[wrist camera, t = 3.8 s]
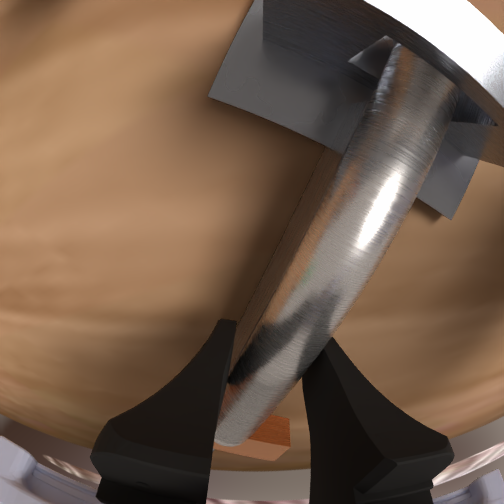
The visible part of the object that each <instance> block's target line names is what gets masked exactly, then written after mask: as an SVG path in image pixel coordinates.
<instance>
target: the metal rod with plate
mask: <svg viewBox="0 0 504 504" xmlns="http://www.w3.org/2000/svg"><path fill="white" fill-rule="evenodd" d="M393 46H394V48H393V49H392V51H391V53H390V56H389V58H388V60H387V63H386V65H385V68H384V70H383V72H382V74H381V77H380V79H379V81H378V84H377V86H376V88H375V90H374V93H373V95H372V97H371V99H370V102H369V104H368V106H367V108H366V111H365V113H364V115H363V117H362V119H361V121H360V124H359V126H358V128H357V130H356V132H355V134H354V137H353V139H352V141H351V143H350V145H349V147H348V149H347V151H346V154H345V156H344V158H343V160H342V162H341V164H340V166H339V168H338V170H337V172H336V174H335V176H334V179H333V181H332V183H331V185H330V187H329V189H328V191H327V193H326V195H325V197H324V199H323V201H322V203H321V205H320V207H319V209H318V211H317V213H316V215H315V217H314V219H313V221H312V223H311V225H310V227H309V229H308V231H307V233H306V235H305V236H304V238H303V240H302V242H301V244H300V246H299V248H298V250H297V252H296V254H295V256H294V258H293V260H292V262H291V263H290V265H289V267H288V269H287V271H286V273H285V275H284V277H283V279H282V280H281V282H280V284H279V286H278V288H277V290H276V292H275V293H274V295H273V297H272V299H271V301H270V303H269V304H268V306H267V308H266V310H265V312H264V314H263V315H262V317H261V319H260V321H259V323H258V324H257V326H256V328H255V330H254V332H253V333H252V335H251V337H250V339H249V341H248V342H247V344H246V346H245V348H244V349H243V351H242V353H241V355H240V356H239V358H238V360H237V362H236V363H235V365H234V367H233V369H232V370H231V372H230V374H229V376H228V381H227V385H226V389H225V394H224V398H223V402H222V406H221V410H220V414H219V418H218V422H217V427H216V432H215V438H214V446H213V449H216V450H220V451H225V452H229V453H233V454H238V455H243V456H248V457H253V458H258V459H264V460H270V461H275V460H276V459H277V458H278V457H280V456H281V455H282V454H283V453H284V452H286V451H287V450H288V449H289V448H290V447H291V445H290V428H289V419H288V418H283V417H279V416H274V415H271V413H272V412H273V411H274V410H275V409H276V408H277V406H278V405H279V404H280V403H281V402H282V400H283V399H284V398H285V397H286V396H287V394H288V393H289V392H290V391H291V390H292V388H293V387H294V386H295V385H296V383H297V382H298V381H299V380H300V378H301V377H302V376H303V374H304V373H305V372H306V371H307V369H308V368H309V367H310V365H311V364H312V363H313V361H314V360H315V359H316V357H317V356H318V355H319V353H320V352H321V351H322V349H323V348H324V347H325V345H326V344H327V342H328V341H329V340H330V338H331V337H332V335H333V334H334V333H335V331H336V330H337V328H338V327H339V326H340V324H341V323H342V321H343V320H344V318H345V317H346V315H347V314H348V312H349V311H350V309H351V308H352V306H353V305H354V303H355V302H356V300H357V299H358V297H359V296H360V294H361V293H362V291H363V289H364V288H365V286H366V285H367V283H368V282H369V280H370V278H371V277H372V275H373V274H374V272H375V270H376V269H377V267H378V265H379V264H380V262H381V260H382V259H383V257H384V255H385V253H386V252H387V250H388V248H389V247H390V245H391V243H392V241H393V240H394V238H395V236H396V234H397V232H398V231H399V229H400V227H401V225H402V223H403V221H404V220H405V218H406V216H407V214H408V212H409V210H410V208H411V206H412V204H413V202H414V200H415V199H416V197H417V195H418V193H419V191H420V188H421V186H422V184H423V182H424V180H425V178H426V176H427V174H428V172H429V170H430V168H431V165H432V163H433V161H434V159H435V157H436V154H437V152H438V150H439V147H440V145H441V143H442V140H443V138H444V136H445V133H446V131H447V128H448V126H449V123H450V121H451V118H452V116H453V113H454V111H455V108H456V105H457V102H458V100H459V97H460V94H461V91H462V90H461V89H460V88H458V87H457V86H456V85H455V84H454V83H453V82H451V81H450V80H449V79H448V78H446V77H445V76H444V75H443V74H441V73H440V72H439V71H438V70H436V69H435V68H434V67H432V66H431V65H430V64H428V63H427V62H426V61H424V60H423V59H421V58H420V57H419V56H417V55H416V54H414V53H413V52H411V51H410V50H408V49H407V48H405V47H404V46H402V45H401V44H399V43H398V42H396V41H395V40H393Z"/></svg>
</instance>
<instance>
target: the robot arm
mask: <svg viewBox="0 0 504 504" xmlns="http://www.w3.org/2000/svg"><path fill="white" fill-rule="evenodd" d="M236 322H237V321H232V320H225V319H220V320H218V322H217V324H216V326H215V328H214V330H213V332H212V334H211V335H210V337H209V338H208V340H207V341H206V343H205V344H204V345H203V347H202V348H201V349H200V351H199V352H198V353H197V354H196V356H195V357H194V358H193V359H192V360H191V361H190V362H189V364H188V365H187V366H186V367H185V368H184V369H183V370H182V371H181V372H180V373H179V374H178V375H177V376H176V377H175V378H174V379H173V380H171V381H170V382H169V383H168V384H167V385H165V386H164V387H163V388H162V389H160V390H159V391H158V392H157V393H155V394H154V395H152V396H151V397H149V398H148V399H146V400H145V401H143V402H142V403H140V404H139V405H137V406H135V407H134V408H132V409H130V410H128V411H126V412H124V413H122V414H120V415H118V416H116V417H114V418H112V419H110V420H109V421H108V422H107V424H106V425H105V426H104V428H103V429H102V431H101V433H100V434H99V436H98V438H97V440H96V442H95V445H94V447H93V450H92V453H91V456H90V459H91V461H92V463H93V465H94V466H95V468H96V469H97V471H98V472H99V474H100V475H101V477H102V479H101V481H100V484H99V487H98V489H95V488H93V487H90V486H87V485H85V484H82V483H80V482H78V481H75V480H73V479H71V478H69V477H66V476H64V475H62V474H60V473H58V472H56V471H53V470H51V469H49V468H47V467H45V466H43V465H41V464H40V463H38V462H37V461H36V459H35V458H34V457H33V456H32V455H31V454H30V453H29V452H28V451H26V450H25V449H23V448H22V447H20V446H18V445H17V444H15V443H13V442H12V441H10V440H8V439H6V438H5V437H4V436H0V503H1V504H206V499H207V491H208V483H209V476H210V468H211V461H212V453H213V446H214V438H215V432H216V427H217V422H218V418H219V414H220V410H221V406H222V402H223V398H224V394H225V389H226V385H227V381H228V376H229V369H230V363H231V357H232V351H233V344H234V338H235V332H236ZM302 384H303V394H304V400H305V406H306V413H307V419H308V425H309V432H310V443H311V482H310V500H309V504H504V481H503V478H502V476H501V473H500V471H499V469H495V470H493V471H491V472H489V473H487V474H485V475H482V476H481V477H479V478H477V479H476V480H475V481H473V482H472V483H471V484H470V485H469V486H467V487H465V488H462V489H459V490H457V491H454V492H452V493H449V494H446V495H443V496H440V497H437V498H434V499H432V497H431V493H430V489H432V488H433V486H434V485H433V482H432V479H433V478H434V477H436V476H437V475H438V474H439V473H441V472H442V471H443V470H444V469H445V468H446V467H447V466H448V465H450V463H451V462H452V461H453V459H454V452H453V450H452V447H451V445H450V442H449V440H448V438H447V436H445V435H443V434H441V433H439V432H437V431H435V430H432V429H430V428H428V427H427V426H425V425H423V424H421V423H420V422H418V421H416V420H415V419H413V418H412V417H410V416H409V415H407V414H406V413H404V412H403V411H402V410H400V409H399V408H398V407H396V406H395V405H394V404H393V403H391V402H390V401H389V400H388V399H387V398H385V397H384V396H383V395H382V394H381V393H380V392H379V391H378V390H377V389H376V388H375V387H374V386H373V385H372V384H371V383H370V382H369V381H368V380H367V379H366V378H365V377H364V376H363V375H362V373H361V372H360V371H359V370H358V369H357V368H356V366H355V365H354V364H353V363H352V361H351V360H350V359H349V358H348V356H347V355H346V354H345V353H344V351H343V350H342V349H341V347H340V346H339V345H338V343H337V342H336V341H335V339H334V338H333V337H331V338H330V340H329V341H328V342H327V344H326V345H325V347H324V348H323V349H322V351H321V352H320V353H319V355H318V356H317V357H316V359H315V360H314V361H313V363H312V364H311V365H310V367H309V368H308V369H307V371H306V372H305V373H304V374H303V376H302Z"/></svg>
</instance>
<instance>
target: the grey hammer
mask: <svg viewBox="0 0 504 504" xmlns="http://www.w3.org/2000/svg"><path fill="white" fill-rule="evenodd" d="M393 40H395V41H396V42H398V43H399V44H401V45H402V46H404V47H405V48H407V49H408V50H410V51H411V52H413V53H414V54H416V55H417V56H419V57H420V58H421V59H423V60H424V61H426V62H427V63H428V64H430V65H431V66H432V67H434V68H435V69H436V70H438V71H439V72H440V73H441V74H443V75H444V76H445V77H446V78H448V79H449V80H450V81H451V82H453V83H454V84H455V85H456V86H457V87H458V88H460V89H461V90H462V91H461V94H460V97H459V100H458V102H457V105H456V108H455V111H454V113H453V116H452V118H451V121H450V123H449V126H448V128H447V131H446V133H445V136H444V138H443V140H442V143H441V145H440V147H439V150H438V152H437V154H436V157H435V159H434V161H433V163H432V165H431V168H430V170H429V172H428V174H427V176H426V178H425V180H424V182H423V184H422V186H421V188H420V191H419V193H418V195H417V197H416V198H418V199H419V200H421V201H422V202H424V203H426V204H427V205H429V206H430V207H432V208H433V209H435V210H436V211H438V212H439V213H440V214H442V215H443V216H445V217H447V218H448V219H450V220H452V218H453V216H454V214H455V212H456V210H457V208H458V206H459V204H460V202H461V200H462V198H463V196H464V193H465V191H466V189H467V187H468V185H469V183H470V180H471V178H472V176H473V174H474V171H475V169H476V166H477V164H478V162H479V160H482V161H486V162H489V163H492V164H496V165H499V166H502V167H504V35H503V34H502V33H501V32H500V31H499V30H498V29H497V28H496V27H495V26H494V25H493V24H492V23H491V22H490V21H489V20H488V19H487V18H486V17H485V16H484V15H483V14H481V13H480V12H479V11H478V10H477V9H476V8H475V7H474V6H472V5H471V4H470V3H469V2H468V1H467V0H255V1H254V2H253V4H252V6H251V8H250V10H249V11H248V13H247V15H246V17H245V19H244V21H243V23H242V25H241V27H240V29H239V30H238V32H237V34H236V36H235V38H234V40H233V42H232V44H231V46H230V48H229V51H228V53H227V55H226V57H225V59H224V61H223V63H222V65H221V67H220V70H219V72H218V74H217V76H216V78H215V81H214V83H213V85H212V87H211V90H210V92H209V94H208V97H210V98H212V99H215V100H217V101H220V102H223V103H226V104H228V105H231V106H234V107H236V108H239V109H242V110H244V111H247V112H249V113H252V114H254V115H257V116H259V117H262V118H264V119H267V120H269V121H271V122H274V123H276V124H278V125H281V126H283V127H285V128H288V129H290V130H292V131H294V132H296V133H299V134H301V135H303V136H305V137H307V138H309V139H311V140H314V141H316V142H318V143H320V144H322V145H324V146H326V147H325V149H324V151H323V153H322V156H321V158H320V160H319V162H318V164H317V166H316V168H315V170H314V172H313V175H312V177H311V179H310V181H309V183H308V185H307V187H306V189H305V191H304V193H303V195H302V198H301V200H300V202H299V204H298V206H297V208H296V210H295V212H294V214H293V216H292V218H291V220H290V222H289V224H288V226H287V228H286V230H285V232H284V235H283V237H282V239H281V241H280V243H279V245H278V247H277V249H276V251H275V253H274V255H273V257H272V259H271V261H270V263H269V265H268V267H267V269H266V271H265V273H264V275H263V277H262V279H261V281H260V283H259V285H258V287H257V289H256V291H255V293H254V295H253V297H252V299H251V301H250V303H249V305H248V307H247V309H246V311H245V313H244V315H243V316H242V318H241V320H240V322H239V324H238V326H237V328H236V332H235V338H234V344H233V351H232V357H231V363H230V369H229V374H230V372H231V370H232V369H233V367H234V365H235V363H236V362H237V360H238V358H239V356H240V355H241V353H242V351H243V349H244V348H245V346H246V344H247V342H248V341H249V339H250V337H251V335H252V333H253V332H254V330H255V328H256V326H257V324H258V323H259V321H260V319H261V317H262V315H263V314H264V312H265V310H266V308H267V306H268V304H269V303H270V301H271V299H272V297H273V295H274V293H275V292H276V290H277V288H278V286H279V284H280V282H281V280H282V279H283V277H284V275H285V273H286V271H287V269H288V267H289V265H290V263H291V262H292V260H293V258H294V256H295V254H296V252H297V250H298V248H299V246H300V244H301V242H302V240H303V238H304V236H305V235H306V233H307V231H308V229H309V227H310V225H311V223H312V221H313V219H314V217H315V215H316V213H317V211H318V209H319V207H320V205H321V203H322V201H323V199H324V197H325V195H326V193H327V191H328V189H329V187H330V185H331V183H332V181H333V179H334V176H335V174H336V172H337V170H338V168H339V166H340V164H341V162H342V160H343V158H344V156H345V154H346V151H347V149H348V147H349V145H350V143H351V141H352V139H353V137H354V134H355V132H356V130H357V128H358V126H359V124H360V121H361V119H362V117H363V115H364V113H365V111H366V108H367V106H368V104H369V102H370V99H371V97H372V95H373V93H374V90H375V88H376V86H377V84H378V81H379V79H380V77H381V74H382V72H383V70H384V68H385V65H386V63H387V60H388V58H389V56H390V53H391V51H392V49H393V48H394V46H393ZM213 451H214V449H213Z"/></svg>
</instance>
